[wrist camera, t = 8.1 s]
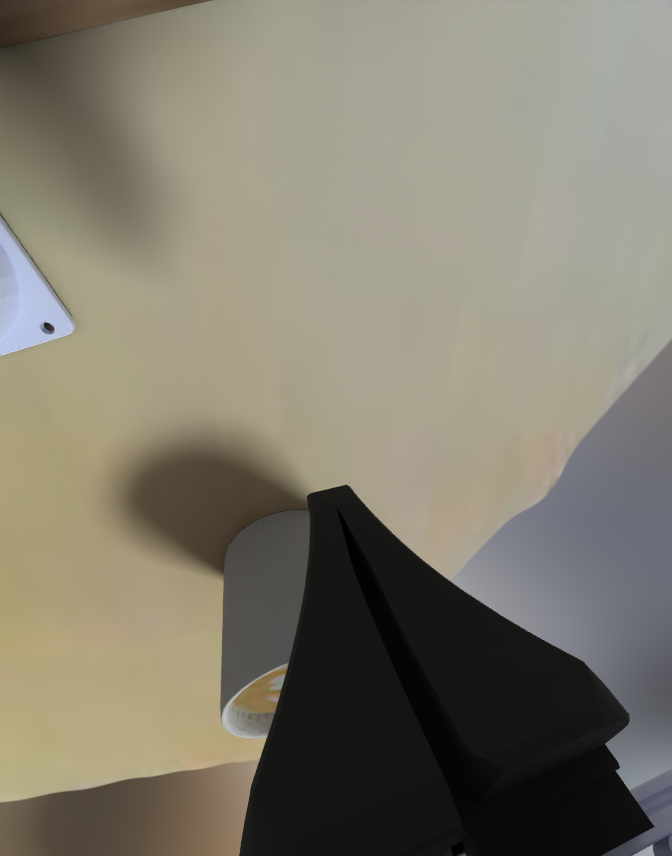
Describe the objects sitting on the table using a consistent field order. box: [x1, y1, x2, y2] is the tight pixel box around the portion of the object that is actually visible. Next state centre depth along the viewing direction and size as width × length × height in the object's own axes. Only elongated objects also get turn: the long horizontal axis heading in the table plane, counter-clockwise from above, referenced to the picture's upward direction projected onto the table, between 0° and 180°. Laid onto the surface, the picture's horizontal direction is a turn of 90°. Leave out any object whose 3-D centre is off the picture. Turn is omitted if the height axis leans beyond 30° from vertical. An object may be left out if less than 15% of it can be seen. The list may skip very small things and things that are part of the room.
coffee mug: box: [220, 510, 310, 738], centre depth 24 cm, size 13×10×10 cm
